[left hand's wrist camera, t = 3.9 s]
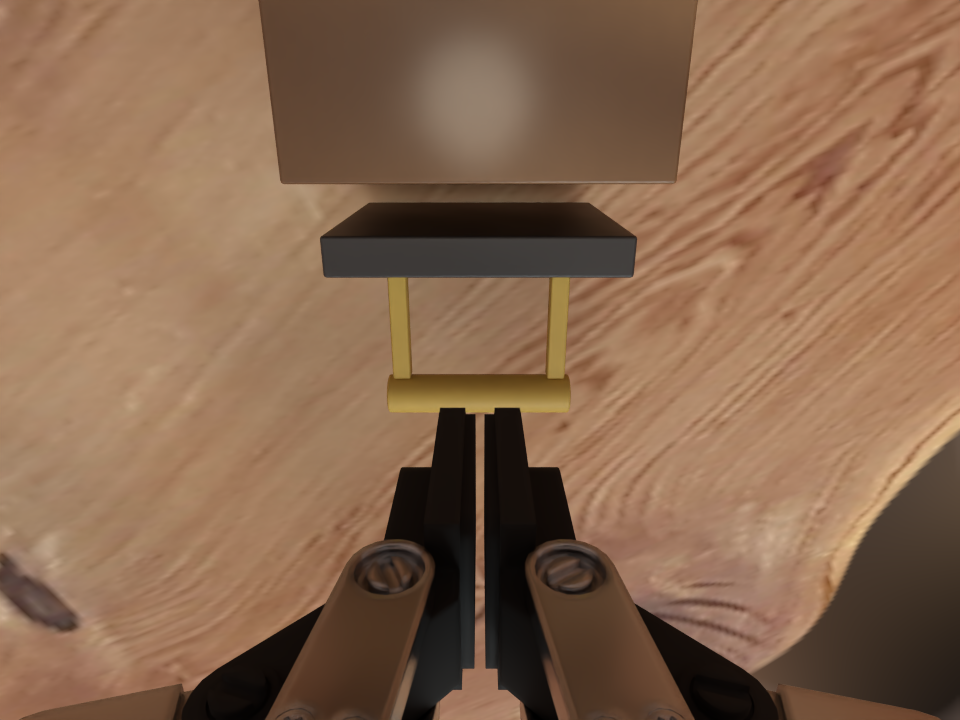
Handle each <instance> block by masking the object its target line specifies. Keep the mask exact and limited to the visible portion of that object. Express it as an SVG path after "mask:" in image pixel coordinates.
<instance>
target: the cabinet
mask: <svg viewBox="0 0 960 720" xmlns="http://www.w3.org/2000/svg"><path fill="white" fill-rule="evenodd" d="M697 2H698V0H259V7H260V15H261V23H262V32H263V40H264V48H265V57H266V65H267V73H268V81H269V90H270V98H271V106H272V115H273V123H274V131H275V140H276V148H277V156H278V165H279V173H280V181H281V183H283V184H674V183H675V182H676V179H677V171H678V162H679V154H680V145H681V137H682V129H683V120H684V112H685V103H686V95H687V86H688V78H689V69H690V61H691V52H692V44H693V36H694V27H695V19H696V10H697Z"/></svg>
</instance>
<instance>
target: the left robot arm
mask: <svg viewBox="0 0 960 720" xmlns="http://www.w3.org/2000/svg"><path fill="white" fill-rule="evenodd" d="M475 560H476V429H475V414H466V408H440V411H439V418H438V425H437V432H436V439H435V446H434V453H433V461H432V467H402V468H401V470H400V473H399V478H398V482H397V486H396V491H395V495H394V499H393V504H392V508H391V512H390V517H389V521H388V525H387V530H386V534H385V538H384V541H379V542H375V543H372V544H370V545H368V546H365V547H363V548H362V549H360V550H359V551H358V552H356V553H355V554H354V555H353V556H352V557H351V558H350V560H349V561H348V562H347V564H346V565H345V567H344V569H343V571H342V573H341V575H340V577H339V579H338V581H337V583H336V585H335V587H334V589H333V590H332V592H331V594H330V596H329V598H328V600H327V602H326V603H325V604H324V605H322V606H320V607H319V608H317V609H315V610H314V611H312V612H311V613H309V614H307V615H306V616H304V617H302V618H301V619H299V620H297V621H296V622H294V623H292V624H291V625H289V626H287V627H286V628H284V629H282V630H281V631H279V632H277V633H276V634H274V635H273V636H271V637H269V638H268V639H266V640H264V641H263V642H261V643H259V644H258V645H256V646H254V647H253V648H251V649H249V650H248V651H246V652H244V653H243V654H241V655H239V656H238V657H236V658H234V659H233V660H231V661H230V662H228V663H226V664H225V665H223V666H221V667H220V668H218V669H217V670H215V671H214V672H213V673H211V674H210V675H209V676H207V677H206V678H205V679H203V680H202V681H201V682H200V683H199V685H198V686H197V687H196V688H195V689H194V690H192V691H187V692H184V690H183V686H182V684H177V685H172V686H167V687H162V688H157V689H152V690H147V691H142V692H136V693H131V694H126V695H121V696H116V697H111V698H106V699H101V700H96V701H91V702H86V703H81V704H76V705H70V706H65V707H60V708H55V709H50V710H45V711H41V712H38V713H35V714H32V715H29V716H26V717H23V718H21V719H19V720H439V718H440V700H441V699H442V698H444V697H445V696H446V695H447V694H448V693H449V692H451V691H452V690H462V669H474V657H475ZM484 560H485V656H486V669H498V690H508V691H509V692H511V693H512V694H513V695H514V696H515V697H516V698H518V699H519V700H520V718H521V720H941V719H939V718H937V717H934V716H931V715H927V714H925V713H922V712H919V711H915V710H910V709H905V708H900V707H895V706H890V705H884V704H879V703H874V702H869V701H864V700H859V699H854V698H849V697H844V696H839V695H833V694H829V693H823V692H818V691H813V690H808V689H803V688H798V687H793V686H788V685H783V684H778V687H777V690H776V692H773V691H768V690H766V689H765V688H764V687H763V686H762V685H761V683H760V682H759V681H758V680H757V679H755V678H754V677H753V676H751V675H750V674H749V673H747V672H746V671H745V670H743V669H742V668H740V667H739V666H737V665H735V664H734V663H732V662H730V661H729V660H727V659H726V658H724V657H722V656H721V655H719V654H717V653H716V652H714V651H712V650H711V649H709V648H707V647H706V646H704V645H702V644H701V643H699V642H697V641H696V640H694V639H692V638H691V637H689V636H687V635H686V634H684V633H683V632H681V631H679V630H678V629H676V628H674V627H673V626H671V625H669V624H668V623H666V622H664V621H663V620H661V619H659V618H658V617H656V616H654V615H653V614H651V613H649V612H648V611H646V610H645V609H643V608H641V607H640V606H638V605H636V604H635V603H634V602H633V600H632V598H631V596H630V594H629V592H628V590H627V589H626V587H625V585H624V583H623V581H622V579H621V577H620V575H619V573H618V571H617V569H616V567H615V565H614V564H613V562H612V561H611V560H610V558H609V557H608V556H607V555H606V554H605V553H604V552H602V551H601V550H600V549H598V548H597V547H595V546H592V545H590V544H588V543H585V542H581V541H576V538H575V534H574V530H573V525H572V521H571V517H570V512H569V508H568V504H567V499H566V495H565V491H564V486H563V482H562V478H561V473H560V470H559V468H558V467H528V461H527V453H526V446H525V439H524V432H523V425H522V418H521V411H520V408H494V414H485V430H484Z"/></svg>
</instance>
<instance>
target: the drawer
mask: <svg viewBox="0 0 960 720" xmlns="http://www.w3.org/2000/svg"><path fill="white" fill-rule="evenodd" d="M320 243H321V253H322V263H323V273H324V276H325V277H327V278H388V295H389V311H390V328H391V345H392V362H393V374H391V375H390V376H389V379H388V385H387V404H388V409H389V411H390V412H439V411H440V408H466V412H494V408H520V411H521V412H568V411H569V408H570V399H571V390H570V380H569V377H568V375H566V374H564V373H565V356H566V339H567V321H568V304H569V286H570V278H630V277H633V275H634V265H635V255H636V245H637V237H636V236H635V235H633V234H632V233H630V232H629V231H628V230H626V229H625V228H623V227H622V226H621V225H619V224H618V223H616V222H615V221H614V220H612V219H611V218H609V217H608V216H607V215H605V214H604V213H602V212H601V211H600V210H598V209H597V208H595V207H594V206H593V205H591V204H590V203H368V204H367V205H365V206H364V207H362V208H361V209H360V210H358V211H357V212H355V213H354V214H352V215H351V216H350V217H348V218H347V219H345V220H344V221H343V222H341V223H340V224H338V225H337V226H335V227H334V228H333V229H331V230H330V231H328V232H327V233H326V234H324V235H323V236H321V238H320ZM408 278H550V281H549V304H548V326H547V349H546V371H545V372H546V374H412V357H411V335H410V314H409V292H408Z"/></svg>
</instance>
